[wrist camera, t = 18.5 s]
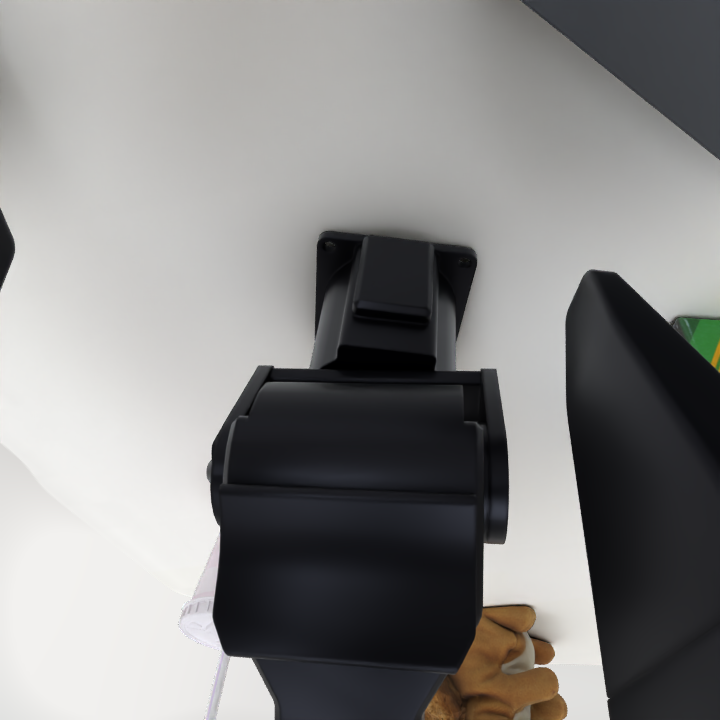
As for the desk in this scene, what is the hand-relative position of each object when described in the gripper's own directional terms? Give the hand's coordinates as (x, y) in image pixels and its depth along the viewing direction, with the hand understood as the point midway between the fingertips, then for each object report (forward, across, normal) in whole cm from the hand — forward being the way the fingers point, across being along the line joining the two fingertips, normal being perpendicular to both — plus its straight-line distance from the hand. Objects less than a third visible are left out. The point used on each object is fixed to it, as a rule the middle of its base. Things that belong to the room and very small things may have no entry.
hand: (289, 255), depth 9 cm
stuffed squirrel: (+13, -14, +50) cm, 53 cm away
